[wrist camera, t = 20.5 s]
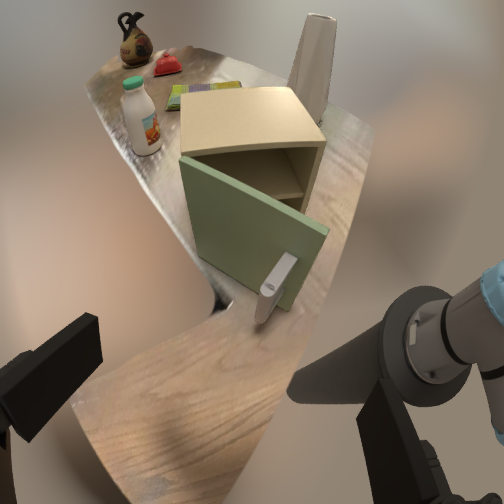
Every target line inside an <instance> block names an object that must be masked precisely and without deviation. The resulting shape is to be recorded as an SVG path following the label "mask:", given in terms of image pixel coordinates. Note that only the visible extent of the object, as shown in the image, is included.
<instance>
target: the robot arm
mask: <svg viewBox="0 0 504 504" xmlns="http://www.w3.org/2000/svg"><path fill="white" fill-rule="evenodd" d="M403 353H404V357H405V360H406V363H407V365H408V367H409V369H410V371H411V372H412V374H413V375H414V376H415V377H416V378H417V379H418V380H420V381H421V382H423V383H425V384H429V385H438V384H442V383H446V382H448V381H450V380H452V379H453V378H455V377H456V376H457V375H459V374H460V373H461V372H462V371H463V370H464V369H466V368H467V367H468V366H469V365H471V364H474V363H477V365H478V368H479V371H480V374H481V378H482V381H483V385H484V388H485V392H486V396H487V399H488V404H489V408H490V413H491V423H492V425H493V428H494V430H495V434H496V438H497V440H498V441H499V442H500V443H501V444H502V445H503V446H504V260H502V261H501V262H499V263H498V264H497V265H495V266H494V267H492V268H489V269H487V270H486V271H485V272H484V273H483V274H482V276H481V277H480V278H479V279H477V280H476V281H474V282H473V283H472V284H470V285H469V286H468V287H466V288H465V289H463V290H462V291H461V292H459V293H457V294H456V295H455V296H453V297H452V298H450V299H443V300H436V301H431V302H427V303H425V304H423V305H422V306H420V307H419V308H417V309H416V310H415V311H414V312H413V313H412V314H411V315H410V317H409V318H408V320H407V322H406V325H405V328H404V332H403ZM102 362H103V357H102V351H101V342H100V333H99V323H98V317H97V316H94V315H92V314H89V313H87V312H86V313H84V314H83V315H82V316H80V317H79V318H77V319H76V320H75V321H73V322H72V323H71V324H69V325H68V326H66V327H65V328H64V329H62V330H61V331H60V332H58V333H57V334H56V335H54V336H53V337H51V338H50V339H49V340H47V341H46V342H45V343H44V344H42V345H41V346H40V347H38V348H37V349H36V350H34V351H31V350H29V351H26V352H23V353H20V354H19V355H18V356H17V357H15V358H14V359H13V361H10V362H9V363H7V365H5V366H4V367H2V368H1V369H0V504H17V500H16V495H15V488H14V481H13V473H12V462H11V445H10V444H11V443H10V430H9V426H10V425H12V426H13V428H14V430H15V431H16V433H17V434H18V435H19V436H21V437H22V438H23V439H24V440H26V441H27V442H28V443H30V441H31V440H32V439H33V438H34V437H35V436H36V435H37V433H38V432H39V431H40V430H41V429H42V428H43V427H44V425H45V424H46V423H47V422H48V421H49V420H50V419H51V418H52V416H53V415H54V414H55V413H56V412H57V411H58V410H59V409H60V407H61V406H62V405H63V404H64V403H65V402H66V401H67V400H68V399H69V398H70V397H71V395H72V394H73V393H74V392H75V391H76V390H77V389H78V388H79V387H80V386H81V385H82V384H83V382H84V381H85V380H86V379H87V378H88V377H89V376H90V375H91V374H92V373H93V372H94V371H95V370H96V368H98V366H99V365H100V364H101V363H102ZM356 421H357V425H358V429H359V433H360V438H361V442H362V447H363V451H364V456H365V460H366V465H367V470H368V475H369V480H370V486H371V491H372V496H373V502H374V504H502V499H501V498H500V496H499V495H497V494H496V493H488V494H487V495H486V496H484V497H483V498H482V499H481V500H478V501H465V500H464V498H463V497H461V496H459V495H455V494H452V492H451V490H450V488H449V485H448V482H447V480H446V477H445V474H444V472H443V470H442V467H441V466H440V462H439V460H438V459H437V455H436V452H435V450H434V448H433V447H432V446H431V444H430V443H429V442H428V441H427V440H421V441H420V440H419V437H418V435H417V433H416V430H415V428H414V425H413V423H412V421H411V418H410V416H409V414H408V412H407V409H406V407H405V405H404V403H403V400H402V398H401V396H400V394H399V392H398V390H397V387H396V385H395V383H394V381H393V379H382V378H379V379H378V381H377V382H376V384H375V386H374V388H373V390H372V392H371V394H370V395H369V397H368V399H367V401H366V402H365V404H364V406H363V408H362V409H361V411H360V413H359V414H358V416H357V418H356Z"/></svg>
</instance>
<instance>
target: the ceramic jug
mask: <svg viewBox="0 0 504 504" xmlns="http://www.w3.org/2000/svg"><path fill="white" fill-rule="evenodd" d="M124 16H129V18H128V19H127V21H126V23H125V24H129V28H128V31H127V29H126V28H125V27H124V25H123V23H122V21H121V19H122V18H123V17H124ZM143 16H144V14H142V13H140V12H135V13H134V15H132V14H131V13H129V12H124V13H122V14H120V15H119V17H118V24H119V25H120V27H121V29H122V30H123V32H124V38H123V41H122V44H121V49H120V56H121V59H122V60H123V62H125V63H126V64H128V65H129V67H139V66H142V65H146V64H147V63H148V60H149V58H150V56H151V54H152V51H153V46H152V43H151V41H150V39H149V37H148V36H147V35H146V34H145V33H144V32H143V31H142V30H141V29H139V28H138V27H137V25H136V22H137V20H139V19H140V18H142V17H143Z"/></svg>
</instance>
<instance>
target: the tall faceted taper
mask: <svg viewBox="0 0 504 504" xmlns="http://www.w3.org/2000/svg"><path fill="white" fill-rule="evenodd" d="M336 26H337V20H335V19H333V18H331V17H328V16H323V15H318V14H312V13H311V14H308V15H307V19H306V21H305V25H304V28H303V32H302V35H301V38H300V42H299V46H298V49H297V52H296V56H295V60H294V63H293V67H292V70H291V74H290V77H289V81H288V84H287V87H290V88H291V90H292V91H293V92H294V94H295V95H296V96H297V98H298V99H299V100H300V102H301V103H302V105H303V106H304V107H305V109H306V110H307V112H308V113H309V115H310V116H311V118H312V119H313V120H314V122H315V123H316V125H317V124H318V123H319V121H320V120H321V117H322V114H323V113H324V111H325V109H326V106H327V99H328V93H329V86H330V78H331V71H332V63H333V55H334V47H335V38H336V28H337V27H336Z"/></svg>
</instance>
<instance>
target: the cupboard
mask: <svg viewBox="0 0 504 504" xmlns="http://www.w3.org/2000/svg"><path fill="white" fill-rule="evenodd" d="M180 128H181V156H184V155H185V156H187V157H189V158H192V159H194V160H196V161H198V162H200V163H202V164H205V165H207V166H209V167H211V168H213V169H215V170H217V171H219V172H222V173H224V174H226V175H228V176H230V177H232V178H234V179H236V180H238V181H240V182H242V183H244V184H246V185H248V186H250V187H252V188H254V189H256V190H258V191H260V192H262V193H264V194H266V195H268V196H270V197H272V198H274V199H276V200H278V201H279V202H281V203H283V204H285V205H287V206H289V207H291V208H293V209H295V210H296V211H298V212H300V213H302V214H304V215H305V211H306V208H307V205H308V202H309V199H310V196H311V192H312V189H313V186H314V183H315V179H316V176H317V173H318V169H319V166H320V163H321V159H322V156H323V153H324V149H325V145H326V142H327V140H326V139H325V137H324V136H323V134H322V133H321V131H320V129H319V128H318V126H317V125H316V123H315V122H314V120H313V119H312V118H311V116H310V115H309V113H308V112H307V110H306V109H305V107H304V106H303V105H302V103H301V102H300V100H299V99H298V98H297V96H296V95H295V94H294V92H293V91H292V90H291V88H290V87H252V88H233V89H220V90H209V91H200V92H192V93H185V94H181V104H180Z"/></svg>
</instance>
